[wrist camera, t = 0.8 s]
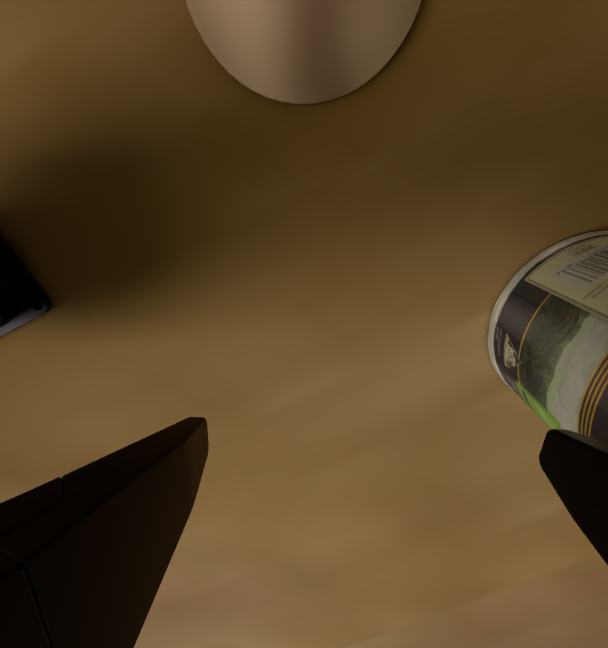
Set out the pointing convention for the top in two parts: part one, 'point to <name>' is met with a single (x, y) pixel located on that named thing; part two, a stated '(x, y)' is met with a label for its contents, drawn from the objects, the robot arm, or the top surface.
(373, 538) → the top surface
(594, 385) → the coffee can
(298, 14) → the cork mat
